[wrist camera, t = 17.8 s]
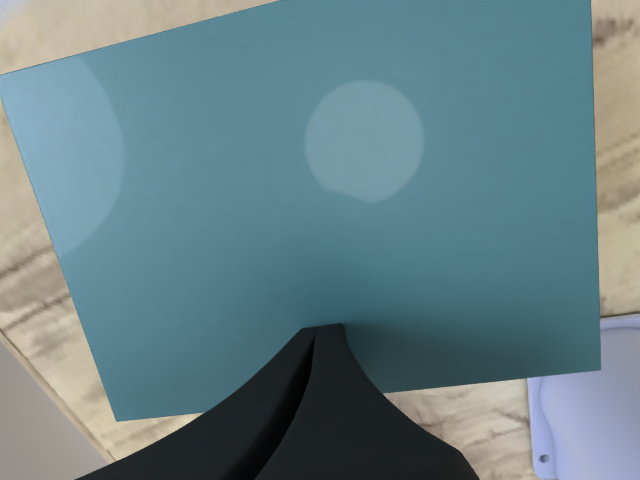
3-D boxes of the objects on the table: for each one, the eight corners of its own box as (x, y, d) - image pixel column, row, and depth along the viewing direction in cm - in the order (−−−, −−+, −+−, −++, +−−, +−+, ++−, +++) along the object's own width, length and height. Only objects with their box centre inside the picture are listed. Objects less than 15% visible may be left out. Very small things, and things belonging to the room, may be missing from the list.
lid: (586, 357, 10) (602, 371, 10) (128, 408, 13) (115, 422, 12) (570, -64, 8) (589, -83, 8) (15, 81, 10) (-9, 76, 10)
